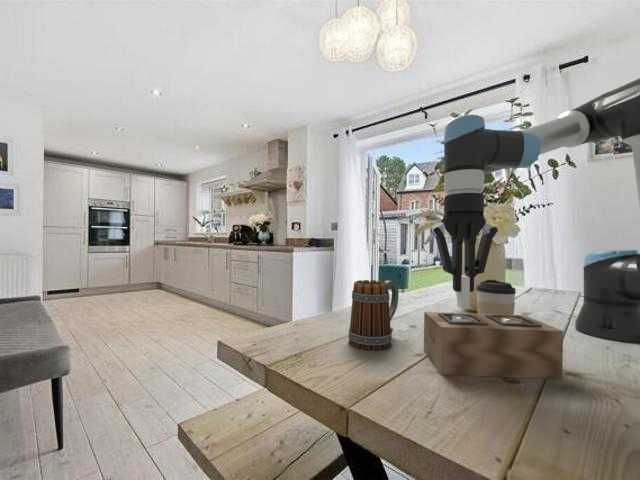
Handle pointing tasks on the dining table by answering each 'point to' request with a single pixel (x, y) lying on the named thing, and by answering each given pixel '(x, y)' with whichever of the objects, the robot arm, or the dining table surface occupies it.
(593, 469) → the dining table surface
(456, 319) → the peg
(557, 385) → the dining table surface
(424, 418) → the dining table surface
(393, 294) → the mug
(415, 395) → the dining table surface
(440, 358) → the socket block
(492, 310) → the coffee cup
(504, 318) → the peg
